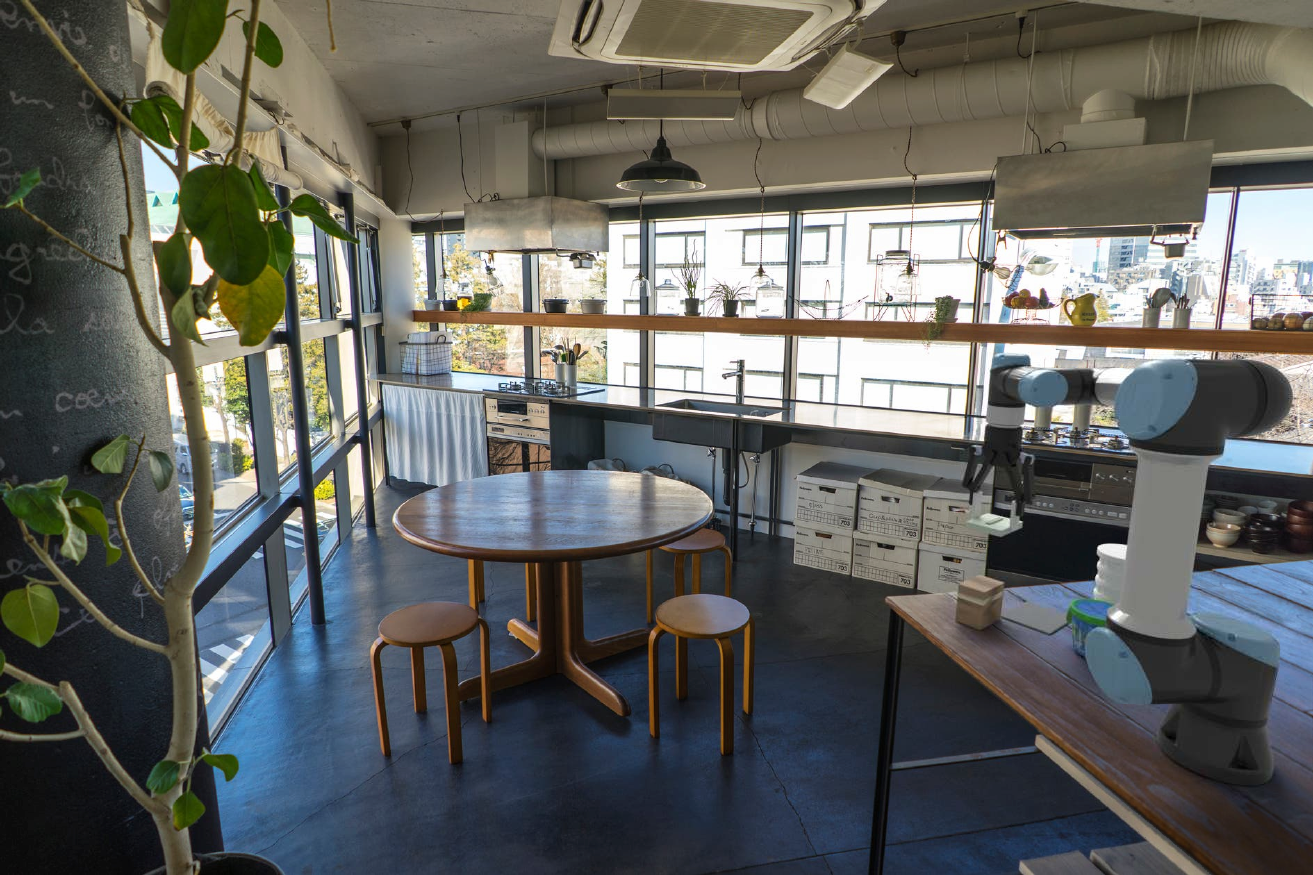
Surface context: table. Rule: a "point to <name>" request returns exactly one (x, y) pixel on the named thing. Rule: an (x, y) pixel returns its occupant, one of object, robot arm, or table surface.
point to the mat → (1036, 617)
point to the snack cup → (1086, 620)
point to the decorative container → (1110, 572)
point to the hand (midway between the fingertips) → (994, 524)
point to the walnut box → (979, 601)
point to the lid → (991, 524)
